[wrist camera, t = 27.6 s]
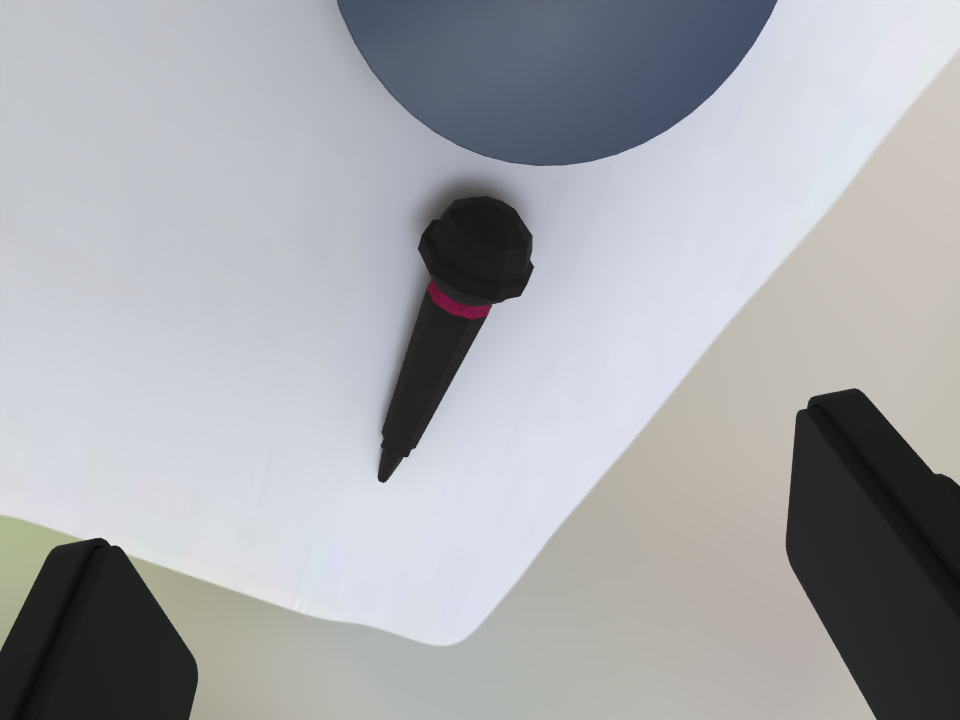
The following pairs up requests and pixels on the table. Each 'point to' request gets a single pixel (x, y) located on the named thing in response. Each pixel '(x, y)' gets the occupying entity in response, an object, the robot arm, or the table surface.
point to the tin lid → (553, 68)
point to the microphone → (453, 309)
